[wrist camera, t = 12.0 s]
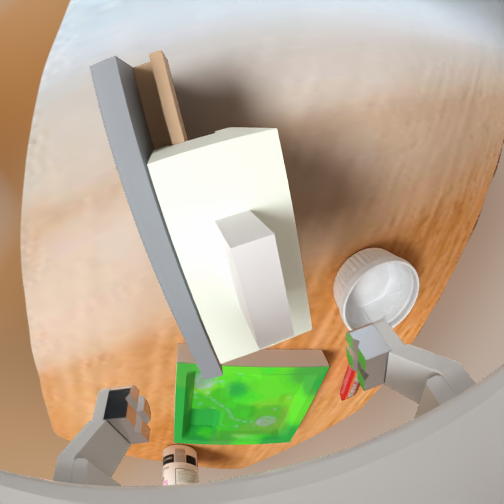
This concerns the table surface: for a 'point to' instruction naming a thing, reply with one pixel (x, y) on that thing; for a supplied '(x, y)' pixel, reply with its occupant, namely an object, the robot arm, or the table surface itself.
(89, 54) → the table surface
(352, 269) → the ramekin
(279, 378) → the tray
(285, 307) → the off-white handled block
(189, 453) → the supplement can
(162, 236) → the wall board
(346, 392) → the candy bar
